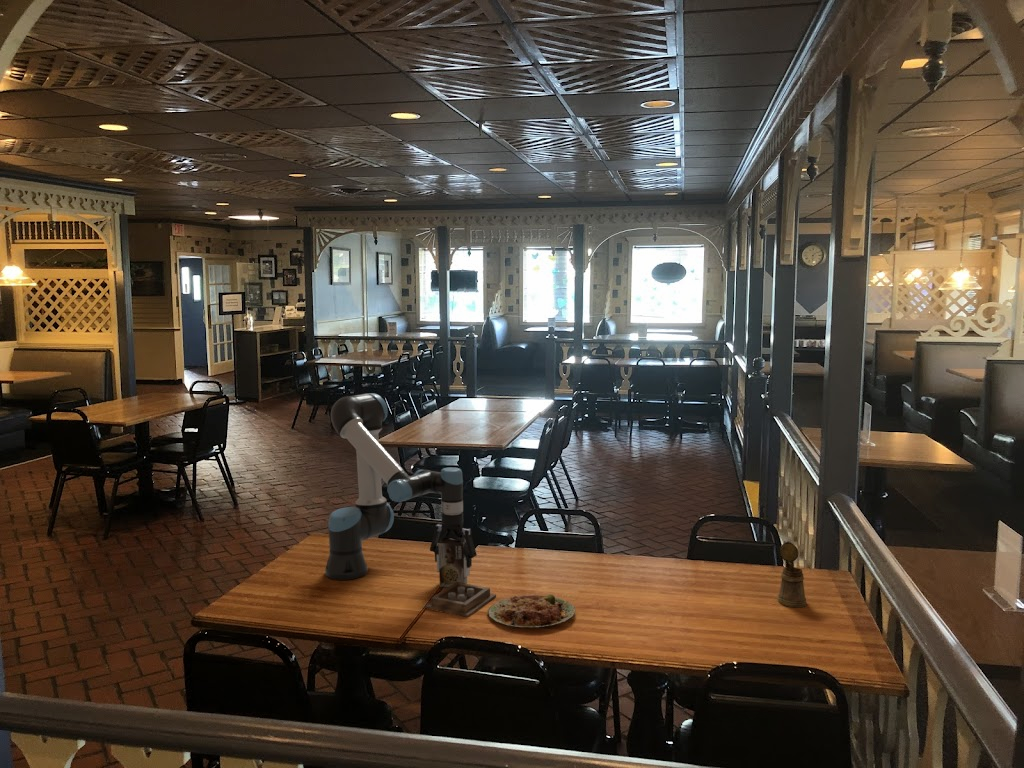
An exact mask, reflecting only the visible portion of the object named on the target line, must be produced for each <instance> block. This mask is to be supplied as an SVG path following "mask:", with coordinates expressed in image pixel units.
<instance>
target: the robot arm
mask: <svg viewBox="0 0 1024 768" xmlns="http://www.w3.org/2000/svg"><path fill="white" fill-rule="evenodd" d="M388 413H389V411H388V405H387V404H386V401H385V399H384V398H382V396H381V395H379V394H377V393H373V392H372V393H367V392H366V393H362V394H355V395H350V396H349V395H348V396H347V395H346V396H343V397H340V398H339V399H338V400H336V402H334V404H333V405H332V408H331V411H330V421H331V424H332V426H333V428H334V429H335V431H336V433H337V434H338V435H339V437H341V438H342V439H347V441H348V442H349V443H350V444H351V446H353V448H354V449H355V452H356V468H357V486H358V498H357V500H355V503H354V504H355V506H347V507H342V508H338V509H335V510H334V511H332V512H330V514H329V517H328V523H327V524H328V525H327V527H328V539H329V542H328V543H329V555H328V558H327V561H326V566H325V568H324V569H325V570H324V571H325V577H326V578H328V579H331V580H334V581H335V580H336V581H349V580H355V579H359V578H362V577H364V576H365V575H367V574H368V564H367V562H366V560H365V556H364V553H363V544H362V543H363V541H365V540H368V539H371V538H373V537H376V536H381V535H383V534H384V533H386V532H388V531H389V530H390V529H391V528H392V526H393V524H394V520H395V516H394V515H395V514H394V513H395V512H394V511H393V508H392V506H391V505H390V504H389V503H388V502H387V498H386V497H384V496H383V490H382V489H383V488H382V480H383V482H385V484H386V485H387V490H386V491H387V493H388V497H389V499H390V500H391V501H393V502H395V503H400V502H407V501H409V500H411V499H414V498H416V497H421V496H424V495H428V494H430V493H431V494H438V495H440V499H441V501H440V502H441V504H440V505H441V512H442V513H441V523H442V524H441V523H438V524H435V525H434V526H433V529H434V530H433V531H434V533H433V537H432V538H431V539H432V540H431V542H430V547H429V551H430V552H433V553H434V561H435V563H436V572H437V573H439V545H438V543H439V541H440V540H445V539H447V538H449V539H450V538H452V539H455V540H456V541H457V542H458V543H462V542H465V540H466V542H465V543H464V555H465V557H466V558H465V559H464V577H467V578H468V577H469V576H471V570H470V569H471V568H472V565H473V564H472V563H473V562H472V560H473V559H474V558H476V557H477V551H476V548H475V544H474V543H475V542H474V540H473V537H472V529H471V528H464V513H463V512H464V495H463V493H464V491H463V489H464V488H463V487H464V486H463V485H464V480H463V471H462V469H461V468H458V467H456V466H455V467H451V466H450V467H443V468H442V469H441V470H440V471H434V470H429V469H418V470H416V471H415V472H414V474H413V475H409V474H408V473H407V472H406V471H405V470H404V469H403V467H402V466H400V464H399V463H398V462H397V461H396V460H395V459H394V457H393V456H392V455H391V454H390V453H389V452H388V451H387V450H386V448H385V447H384V446H383V445H382V444H381V443H380V440H379V437H380V436H379V434H380V432H381V431H382V430H383V422H385V420H386V419H387V417H388ZM441 532H443V534H442V536H441ZM440 536H441V538H440ZM464 538H465V540H464Z"/></svg>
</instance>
